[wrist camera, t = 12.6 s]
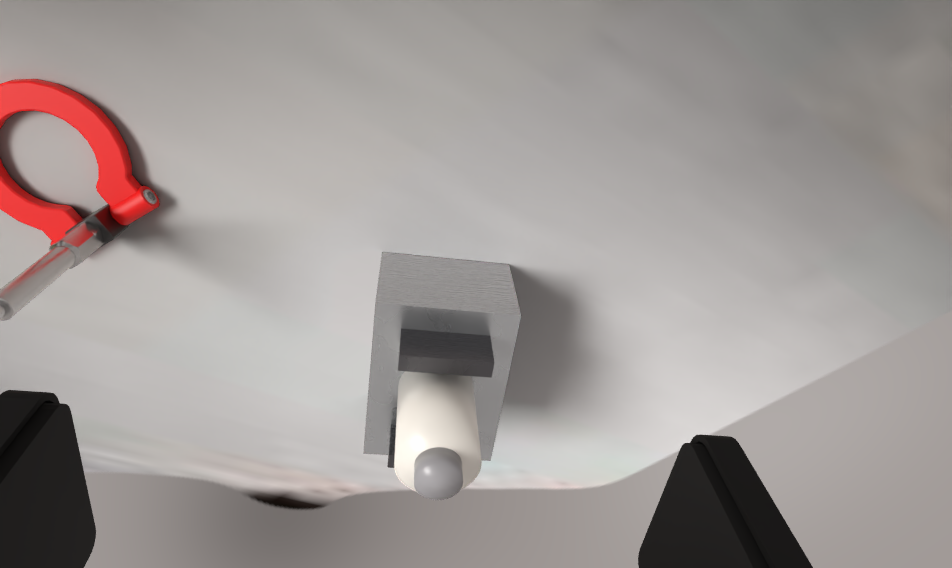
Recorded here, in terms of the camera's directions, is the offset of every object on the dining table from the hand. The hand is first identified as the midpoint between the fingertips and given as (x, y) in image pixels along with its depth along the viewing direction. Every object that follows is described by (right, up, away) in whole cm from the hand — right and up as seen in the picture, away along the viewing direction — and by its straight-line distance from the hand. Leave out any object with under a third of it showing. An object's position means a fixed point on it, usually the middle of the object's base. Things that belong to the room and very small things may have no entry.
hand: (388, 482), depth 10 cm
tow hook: (-22, +10, +26) cm, 35 cm away
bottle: (-1, -3, +27) cm, 28 cm away
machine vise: (-1, -1, +33) cm, 33 cm away
